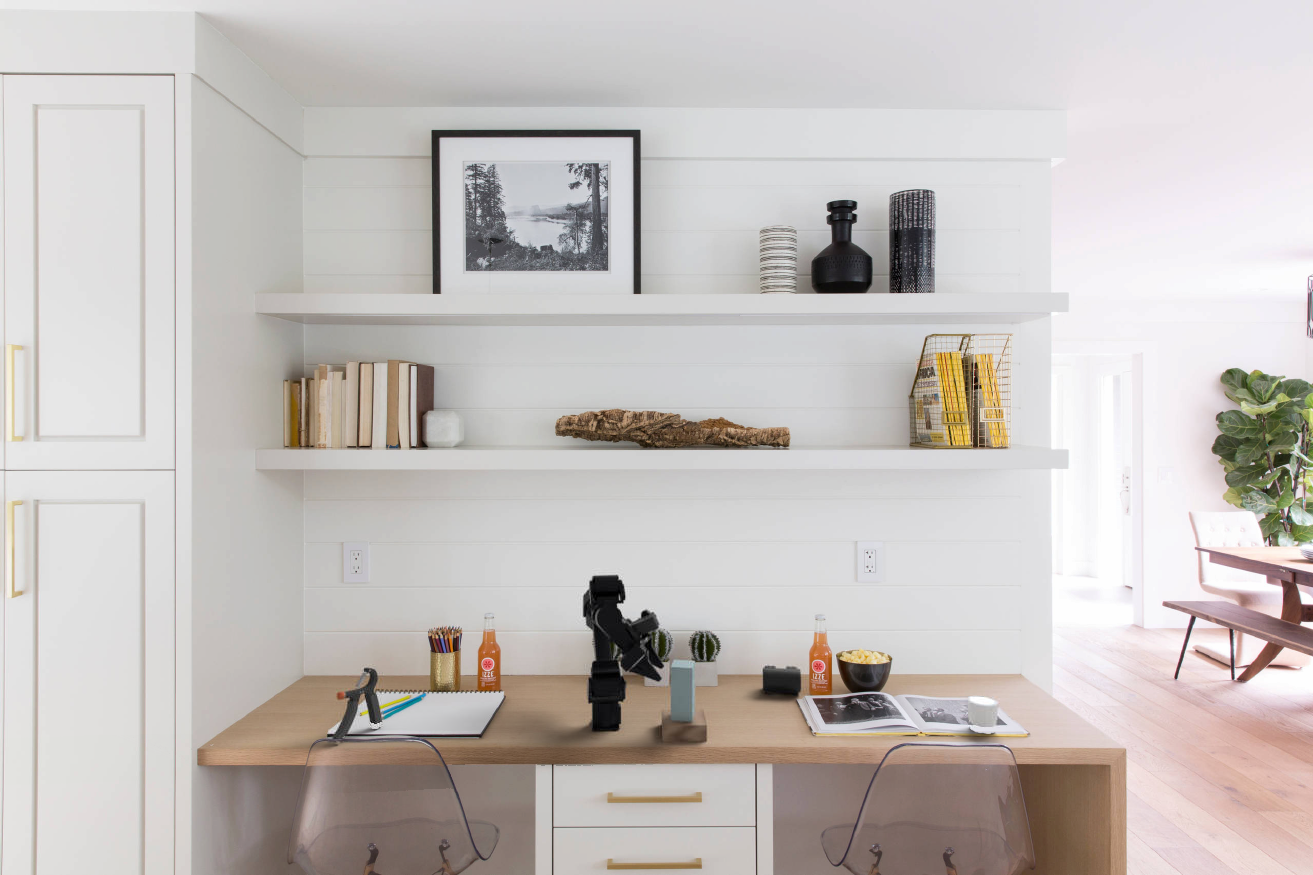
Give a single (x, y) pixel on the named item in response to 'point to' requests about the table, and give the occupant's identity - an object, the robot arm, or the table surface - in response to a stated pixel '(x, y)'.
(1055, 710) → the table surface
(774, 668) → the black rounded block
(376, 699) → the hand grip strengthener
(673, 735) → the walnut block
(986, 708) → the white cylinder
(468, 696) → the table surface
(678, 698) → the pillar
